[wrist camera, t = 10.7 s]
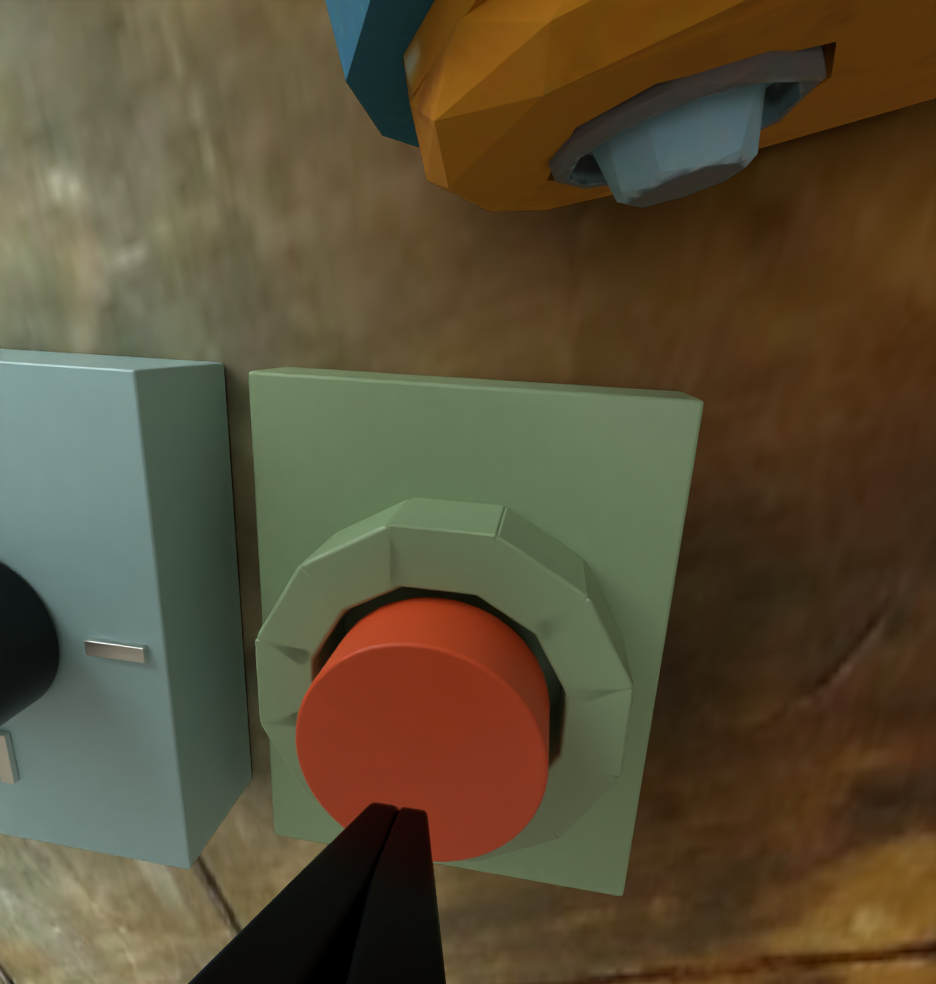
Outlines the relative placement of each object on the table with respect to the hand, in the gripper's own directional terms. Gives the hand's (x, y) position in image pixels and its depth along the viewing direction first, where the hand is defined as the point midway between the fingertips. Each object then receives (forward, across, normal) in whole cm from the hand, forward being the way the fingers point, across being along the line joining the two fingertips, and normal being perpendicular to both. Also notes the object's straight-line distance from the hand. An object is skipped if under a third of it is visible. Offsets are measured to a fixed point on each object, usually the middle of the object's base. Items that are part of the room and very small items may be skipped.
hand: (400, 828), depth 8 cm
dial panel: (+6, +11, 0) cm, 12 cm away
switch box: (+6, 0, 0) cm, 6 cm away
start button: (+3, 0, 0) cm, 3 cm away
